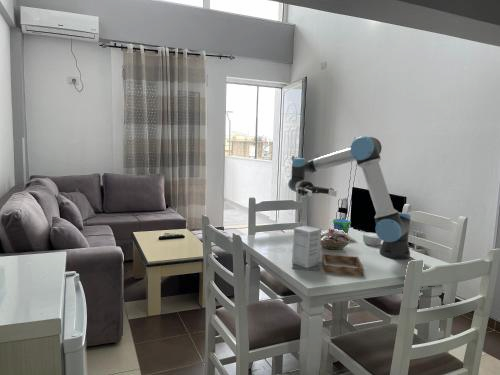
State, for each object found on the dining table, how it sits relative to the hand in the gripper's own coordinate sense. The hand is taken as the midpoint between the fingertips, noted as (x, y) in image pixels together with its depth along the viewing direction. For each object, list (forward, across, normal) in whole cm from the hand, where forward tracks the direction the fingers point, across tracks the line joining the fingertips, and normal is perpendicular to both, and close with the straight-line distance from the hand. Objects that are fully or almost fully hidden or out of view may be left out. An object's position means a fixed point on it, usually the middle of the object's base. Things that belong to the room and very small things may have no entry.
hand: (323, 193), depth 186 cm
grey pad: (+12, +13, -32) cm, 36 cm away
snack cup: (-34, -33, -32) cm, 58 cm away
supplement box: (+12, +13, -31) cm, 36 cm away
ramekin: (-18, -44, -32) cm, 58 cm away
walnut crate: (+18, -2, -32) cm, 37 cm away
